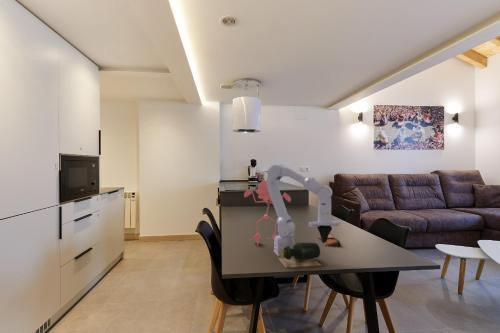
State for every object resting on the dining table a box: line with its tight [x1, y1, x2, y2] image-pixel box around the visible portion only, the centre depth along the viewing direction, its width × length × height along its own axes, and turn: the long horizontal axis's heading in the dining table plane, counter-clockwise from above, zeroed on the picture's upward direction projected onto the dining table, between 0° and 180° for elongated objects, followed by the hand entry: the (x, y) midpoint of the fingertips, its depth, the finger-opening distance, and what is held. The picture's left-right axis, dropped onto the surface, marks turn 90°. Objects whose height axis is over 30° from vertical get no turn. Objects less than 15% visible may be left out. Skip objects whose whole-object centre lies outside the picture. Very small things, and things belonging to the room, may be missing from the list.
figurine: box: [243, 179, 292, 246], centre depth 147 cm, size 15×26×35 cm, turn 84°
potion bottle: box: [279, 242, 321, 261], centre depth 119 cm, size 8×8×18 cm
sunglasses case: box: [317, 232, 342, 248], centre depth 149 cm, size 18×7×7 cm
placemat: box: [277, 256, 322, 269], centre depth 119 cm, size 16×11×1 cm
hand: (324, 241), depth 121 cm, fingers closed
